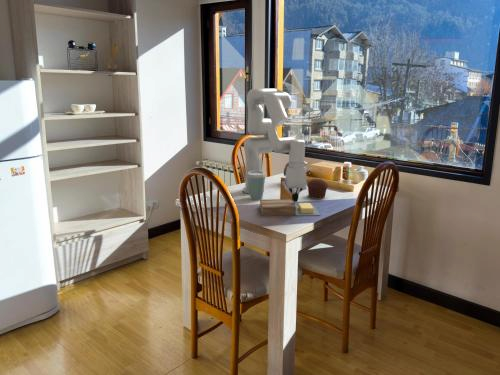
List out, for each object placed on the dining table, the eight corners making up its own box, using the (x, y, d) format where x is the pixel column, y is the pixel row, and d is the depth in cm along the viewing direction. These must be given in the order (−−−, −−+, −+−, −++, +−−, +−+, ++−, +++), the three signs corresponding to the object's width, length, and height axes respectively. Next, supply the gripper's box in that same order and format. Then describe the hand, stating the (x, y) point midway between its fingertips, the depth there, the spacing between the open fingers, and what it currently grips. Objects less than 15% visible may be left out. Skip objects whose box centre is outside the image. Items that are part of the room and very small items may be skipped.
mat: (290, 206, 216) (290, 205, 215) (313, 205, 216) (313, 205, 216) (296, 215, 200) (296, 215, 200) (320, 215, 201) (320, 214, 201)
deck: (260, 207, 213) (260, 199, 213) (290, 206, 215) (291, 199, 214) (262, 215, 200) (262, 207, 199) (295, 215, 201) (295, 207, 200)
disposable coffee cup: (263, 201, 223) (264, 174, 219) (244, 200, 225) (244, 173, 221) (266, 196, 233) (267, 170, 229) (248, 195, 235) (248, 169, 231)
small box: (279, 200, 226) (280, 177, 223) (285, 197, 231) (286, 175, 228) (292, 202, 222) (293, 179, 218) (298, 200, 227) (299, 177, 223)
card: (310, 203, 211) (310, 207, 212) (298, 203, 211) (298, 207, 212) (313, 208, 203) (313, 213, 203) (301, 208, 202) (301, 213, 203)
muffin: (303, 197, 232) (304, 180, 230) (310, 193, 242) (311, 176, 239) (323, 200, 227) (324, 182, 224) (330, 195, 236) (331, 178, 234)
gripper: (310, 163, 206) (308, 198, 211) (280, 163, 205) (279, 199, 210) (313, 166, 199) (311, 203, 204) (282, 166, 198) (281, 203, 203)
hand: (295, 200), depth 207 cm, fingers closed
